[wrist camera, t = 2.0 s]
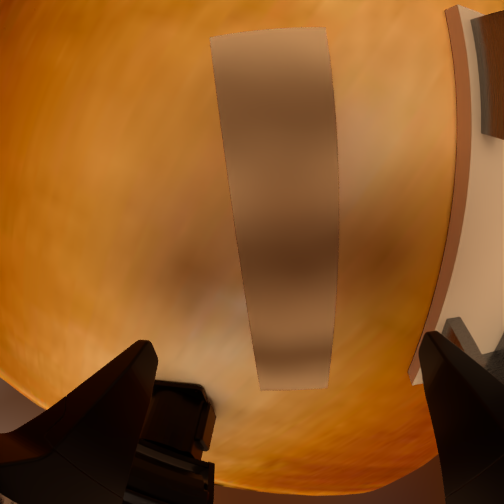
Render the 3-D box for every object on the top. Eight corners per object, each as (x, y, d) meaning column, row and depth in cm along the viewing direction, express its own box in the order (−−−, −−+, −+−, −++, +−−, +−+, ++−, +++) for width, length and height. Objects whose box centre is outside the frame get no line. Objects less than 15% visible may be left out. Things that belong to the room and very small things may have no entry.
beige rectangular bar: (323, 351, 21) (327, 388, 18) (263, 353, 21) (260, 390, 18) (315, 44, 11) (325, 27, 8) (225, 52, 12) (209, 37, 9)
